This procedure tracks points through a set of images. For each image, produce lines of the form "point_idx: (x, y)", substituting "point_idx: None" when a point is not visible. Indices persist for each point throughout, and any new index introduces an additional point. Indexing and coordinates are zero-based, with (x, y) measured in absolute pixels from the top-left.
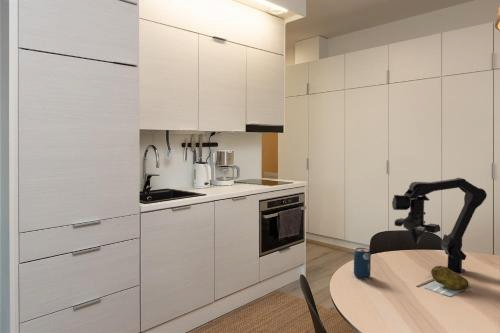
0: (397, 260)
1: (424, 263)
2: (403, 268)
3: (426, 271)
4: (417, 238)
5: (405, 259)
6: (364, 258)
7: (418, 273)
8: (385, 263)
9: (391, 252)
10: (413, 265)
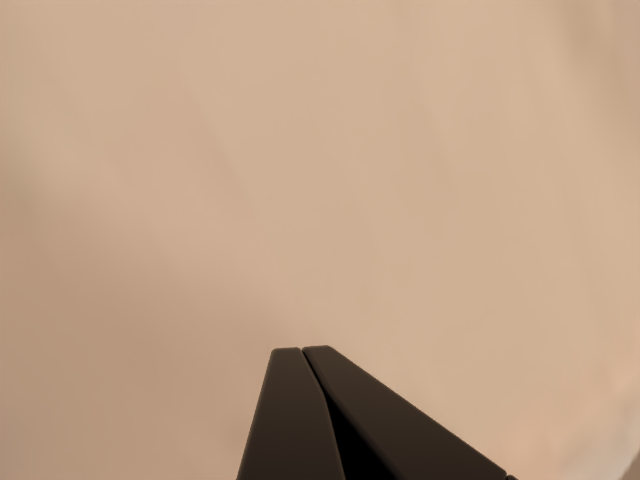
0: (513, 271)
1: (250, 413)
2: (354, 53)
3: (80, 185)
4: (252, 478)
5: (455, 365)
6: None
7: (106, 12)
8: (598, 57)
9: (628, 429)
10: (309, 262)
